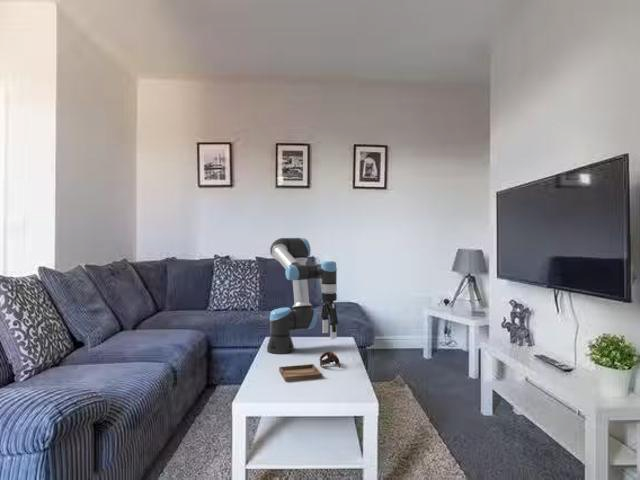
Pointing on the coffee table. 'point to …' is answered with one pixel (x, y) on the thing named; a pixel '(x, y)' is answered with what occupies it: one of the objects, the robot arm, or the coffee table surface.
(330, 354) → the pottery mug
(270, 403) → the coffee table surface
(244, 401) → the coffee table surface
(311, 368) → the walnut tray
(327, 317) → the robot arm
